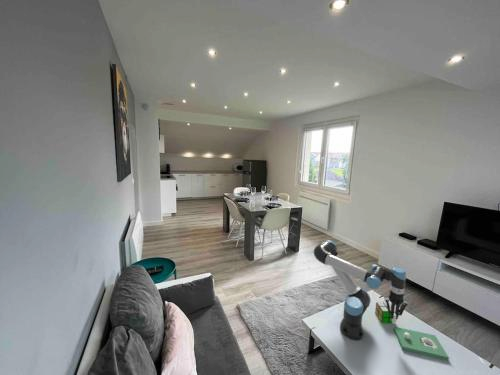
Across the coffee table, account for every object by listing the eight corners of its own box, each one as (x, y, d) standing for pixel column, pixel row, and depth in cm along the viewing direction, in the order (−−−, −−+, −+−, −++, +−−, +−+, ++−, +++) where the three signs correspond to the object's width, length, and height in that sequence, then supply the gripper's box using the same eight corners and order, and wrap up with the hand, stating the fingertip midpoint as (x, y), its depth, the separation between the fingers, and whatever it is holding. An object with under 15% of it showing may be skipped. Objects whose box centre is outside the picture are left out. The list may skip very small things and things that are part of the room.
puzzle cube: (388, 313, 164) (389, 302, 162) (395, 323, 154) (397, 312, 152) (374, 312, 165) (376, 301, 163) (381, 323, 155) (382, 311, 153)
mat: (402, 349, 134) (402, 346, 134) (393, 329, 149) (394, 326, 149) (448, 360, 127) (448, 357, 127) (434, 338, 142) (435, 335, 141)
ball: (404, 339, 139) (405, 334, 138) (402, 335, 142) (403, 330, 141) (411, 340, 138) (411, 336, 137) (408, 336, 141) (409, 331, 140)
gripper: (387, 293, 135) (384, 324, 139) (411, 297, 131) (407, 329, 135) (383, 286, 142) (380, 316, 146) (406, 289, 138) (402, 320, 142)
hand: (393, 322), depth 141 cm, fingers closed
